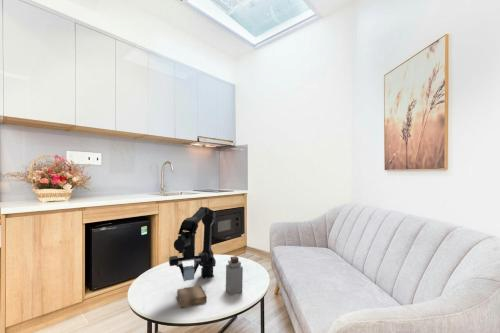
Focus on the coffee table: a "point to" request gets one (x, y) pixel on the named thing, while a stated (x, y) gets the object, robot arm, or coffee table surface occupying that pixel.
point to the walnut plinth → (191, 296)
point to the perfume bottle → (234, 276)
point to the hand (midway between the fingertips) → (188, 275)
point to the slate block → (188, 273)
